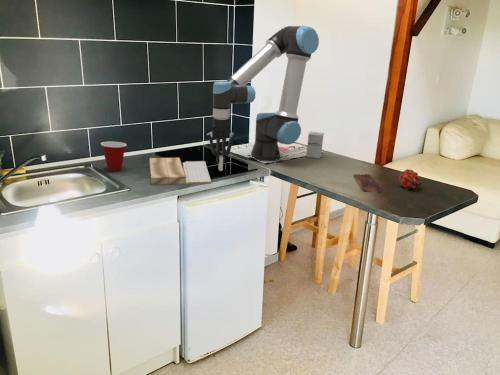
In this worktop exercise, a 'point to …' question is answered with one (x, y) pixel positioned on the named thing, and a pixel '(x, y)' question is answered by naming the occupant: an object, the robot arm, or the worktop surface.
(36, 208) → the worktop surface
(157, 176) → the oak floor section
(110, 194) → the worktop surface
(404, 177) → the dragon fruit
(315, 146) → the supplement box
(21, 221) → the worktop surface
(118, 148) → the plastic cup
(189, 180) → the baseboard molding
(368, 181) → the wooden tablet
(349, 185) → the worktop surface
